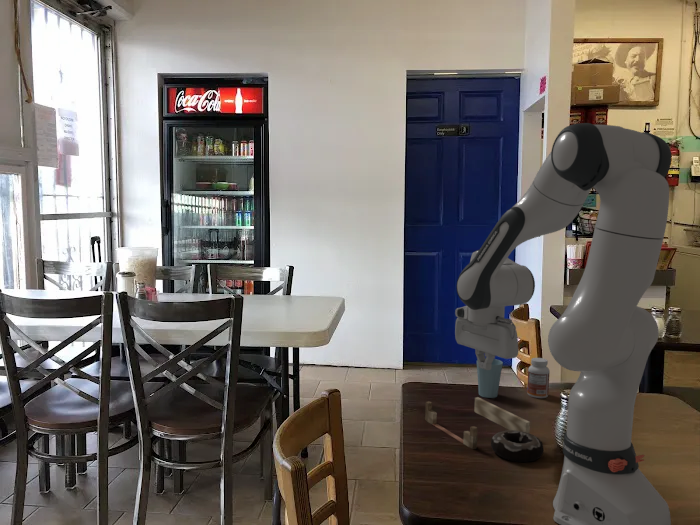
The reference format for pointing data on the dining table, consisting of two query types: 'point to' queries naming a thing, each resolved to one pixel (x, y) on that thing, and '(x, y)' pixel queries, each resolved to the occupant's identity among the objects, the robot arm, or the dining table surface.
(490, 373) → the cup
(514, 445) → the donut
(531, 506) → the dining table surface
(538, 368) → the pill bottle
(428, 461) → the dining table surface
